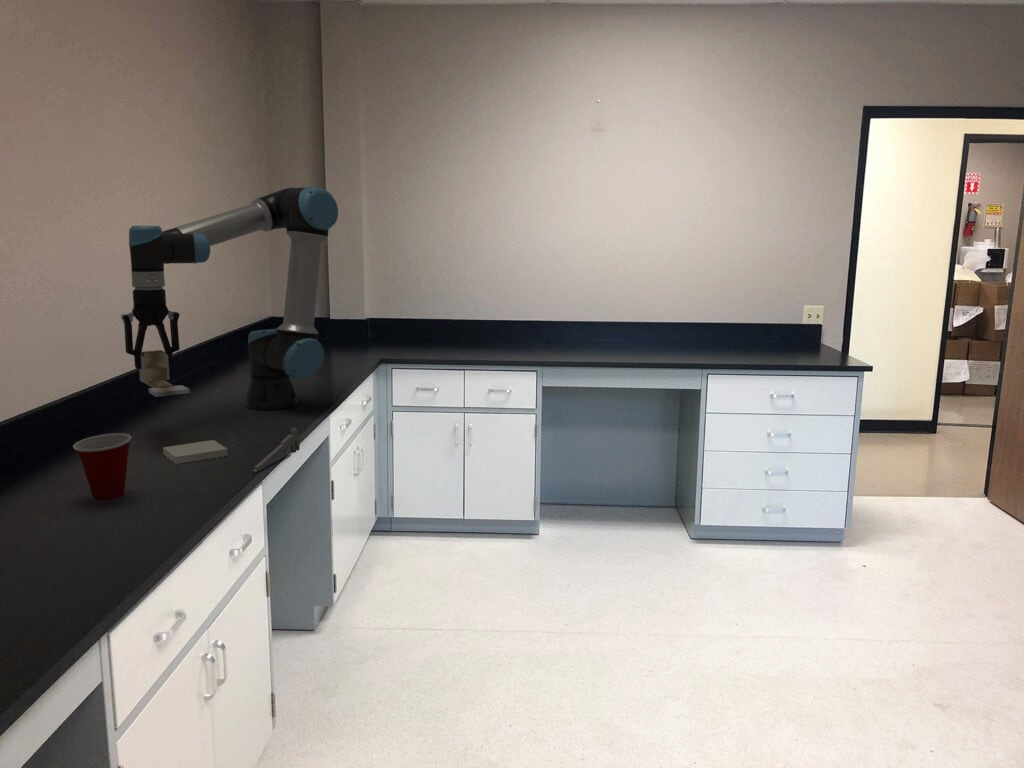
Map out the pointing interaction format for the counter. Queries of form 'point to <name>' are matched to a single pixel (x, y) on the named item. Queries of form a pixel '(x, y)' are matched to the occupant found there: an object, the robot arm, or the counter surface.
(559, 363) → the counter surface
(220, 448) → the tile
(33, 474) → the counter surface
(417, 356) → the counter surface
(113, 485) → the plastic cup
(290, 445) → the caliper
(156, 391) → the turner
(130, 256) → the robot arm
